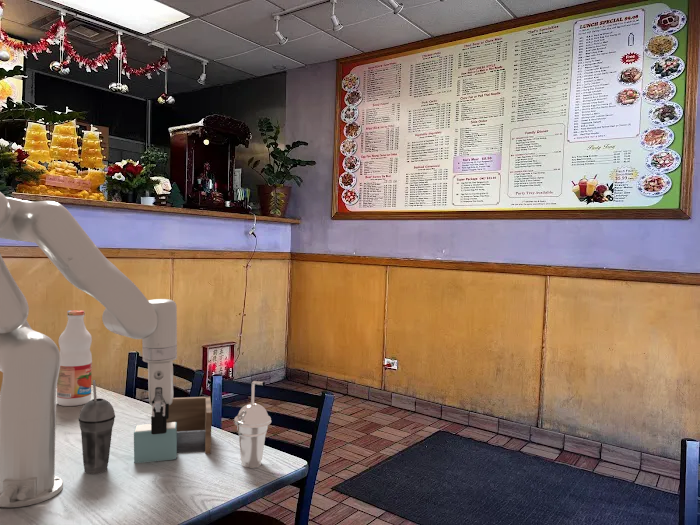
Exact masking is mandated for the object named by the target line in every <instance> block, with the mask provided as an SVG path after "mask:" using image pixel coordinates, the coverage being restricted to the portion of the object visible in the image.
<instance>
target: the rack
mask: <svg viewBox="0 0 700 525" xmlns="http://www.w3.org/2000/svg"><path fill="white" fill-rule="evenodd" d="M212 412H213V411H212V402H211V396H190V397H189V396H187V397H185V396H184V397H173V402H172V404H171V405H169V418H168V419H167V423H169V422H177V431H194V430H205V451H204V454H205V455H210V454H211V453H212V452H211V451H212V447H211V446H212V421H213V420H212V418H213V417H212V415H213V413H212Z"/></svg>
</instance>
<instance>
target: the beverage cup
mask: <svg viewBox="0 0 700 525" xmlns="http://www.w3.org/2000/svg"><path fill="white" fill-rule="evenodd" d="M96 385H97V384H96V379H92V389H93V390H92V391H93V399H91V400H90V401H89V402H87V403H86V404H83V406H82V408H81V410H80V412H79V417H78V422H79V428H80V433H81V434H80V436H81V446H82V447H81V448H82V461H83V462H82V463H83V468H84V473H85V474H86V475H97V474H98V475H99V474H102V473H105V472H106V471H107V470H108V466H109V460H110V452H111V445H112V444H111V442H112V436H113V435H112V432H113V427H114V424H115V423H114V422H115V418H116V414H115V409H114V407H113V405H112V403H111V402H110V401H108V400H107V399H104V398H97V386H96Z"/></svg>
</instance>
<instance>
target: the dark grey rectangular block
mask: <svg viewBox="0 0 700 525" xmlns="http://www.w3.org/2000/svg"><path fill="white" fill-rule="evenodd" d="M200 452H202V453H203V452H204V453H205V430H194V431H177V454H186V453H200Z"/></svg>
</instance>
